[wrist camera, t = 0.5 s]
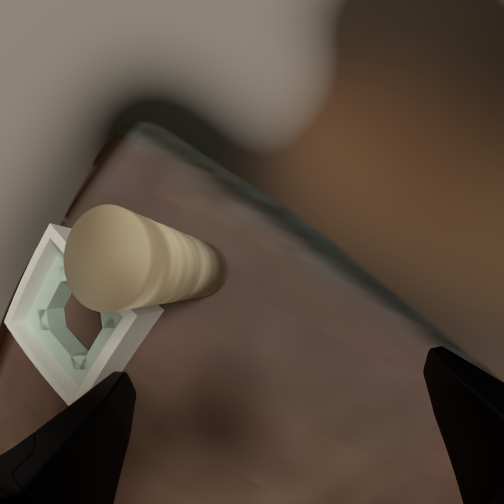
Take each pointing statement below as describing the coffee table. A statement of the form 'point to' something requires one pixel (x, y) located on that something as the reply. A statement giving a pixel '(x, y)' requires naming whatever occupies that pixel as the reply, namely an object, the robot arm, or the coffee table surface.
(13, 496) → the robot arm
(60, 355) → the bore box
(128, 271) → the peg
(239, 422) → the coffee table surface
